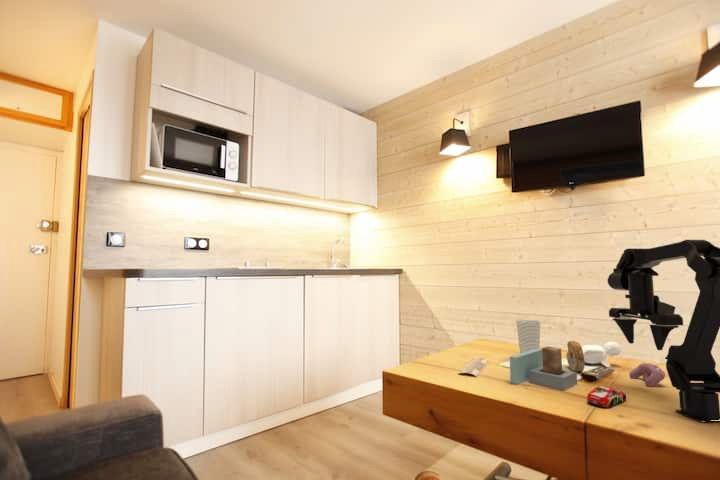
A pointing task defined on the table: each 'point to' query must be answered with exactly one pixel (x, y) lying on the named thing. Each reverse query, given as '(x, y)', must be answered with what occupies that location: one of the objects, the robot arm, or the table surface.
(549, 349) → the walnut post
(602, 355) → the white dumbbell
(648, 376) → the video game controller
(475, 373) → the newspaper
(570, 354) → the stone disc
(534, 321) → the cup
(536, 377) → the socket block
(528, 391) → the table surface
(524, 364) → the backstop board
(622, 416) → the table surface
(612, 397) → the race car
